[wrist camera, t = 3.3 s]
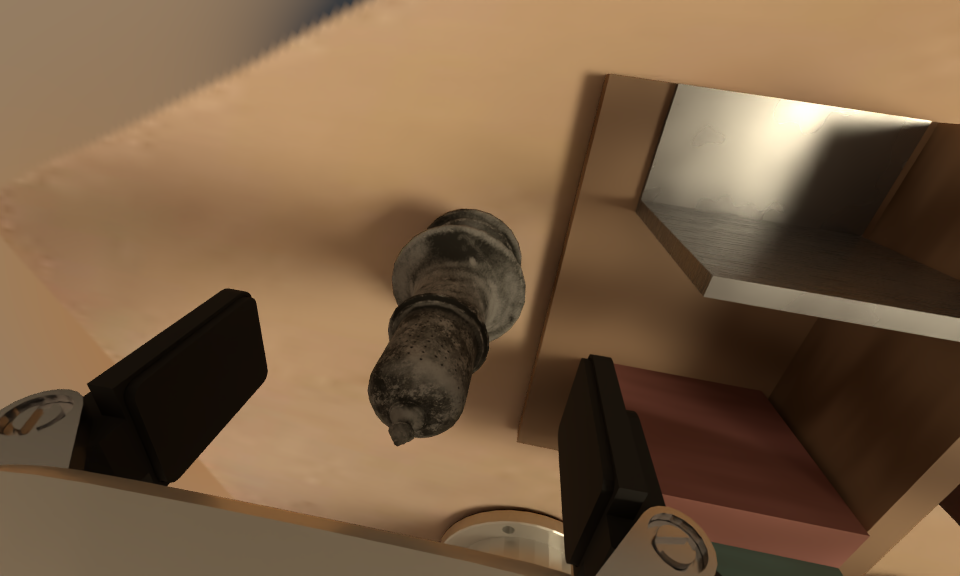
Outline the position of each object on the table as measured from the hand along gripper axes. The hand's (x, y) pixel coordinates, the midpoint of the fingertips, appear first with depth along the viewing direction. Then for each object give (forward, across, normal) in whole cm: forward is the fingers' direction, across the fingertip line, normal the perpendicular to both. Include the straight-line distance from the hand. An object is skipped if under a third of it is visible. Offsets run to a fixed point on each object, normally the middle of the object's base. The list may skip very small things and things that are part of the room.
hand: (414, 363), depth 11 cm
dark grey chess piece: (+10, 0, +1) cm, 10 cm away
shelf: (+10, -11, +2) cm, 15 cm away
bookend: (+9, -12, -5) cm, 16 cm away
